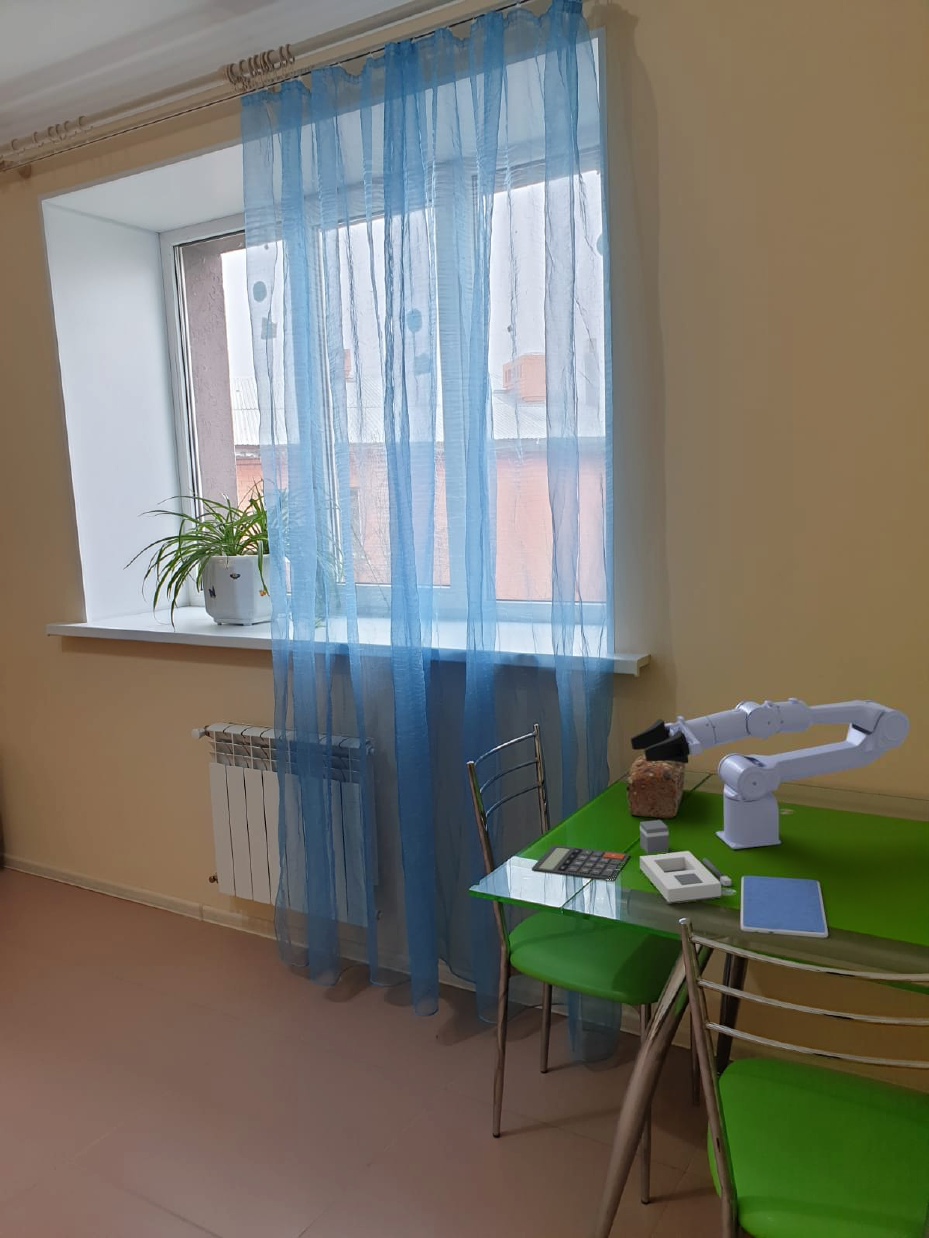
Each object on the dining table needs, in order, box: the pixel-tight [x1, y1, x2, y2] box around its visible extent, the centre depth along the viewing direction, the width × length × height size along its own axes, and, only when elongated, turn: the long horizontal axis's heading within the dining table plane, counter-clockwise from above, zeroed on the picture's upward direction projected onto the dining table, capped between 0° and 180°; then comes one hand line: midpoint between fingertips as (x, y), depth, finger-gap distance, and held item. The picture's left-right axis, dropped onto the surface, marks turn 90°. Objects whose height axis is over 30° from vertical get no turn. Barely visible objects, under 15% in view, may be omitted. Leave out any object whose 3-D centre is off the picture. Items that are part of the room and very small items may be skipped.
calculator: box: [531, 844, 631, 880], centre depth 173 cm, size 12×1×15 cm
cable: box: [702, 857, 732, 887], centre depth 166 cm, size 1×10×1 cm, turn 9°
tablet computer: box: [739, 875, 829, 939], centre depth 152 cm, size 19×13×1 cm, turn 164°
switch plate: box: [639, 850, 722, 903], centre depth 162 cm, size 9×14×3 cm, turn 8°
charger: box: [639, 819, 670, 855], centre depth 177 cm, size 4×4×5 cm
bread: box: [626, 754, 686, 819], centre depth 202 cm, size 19×11×10 cm, turn 162°
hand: (638, 749), depth 174 cm, fingers open, 7 cm apart
